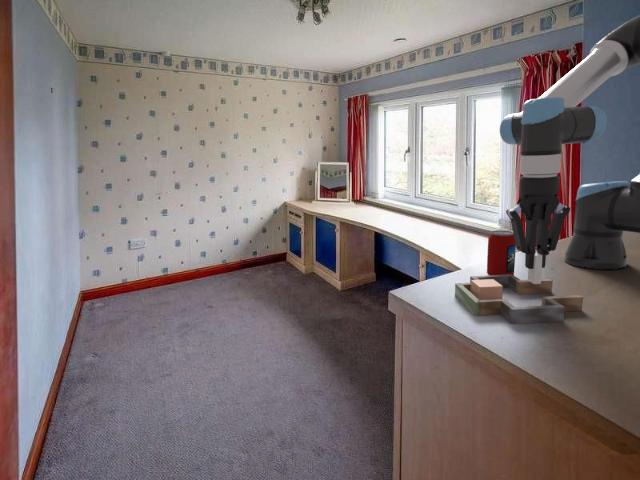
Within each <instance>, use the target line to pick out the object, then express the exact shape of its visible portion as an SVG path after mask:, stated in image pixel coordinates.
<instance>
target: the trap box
mask: <svg viewBox="0 0 640 480" xmlns="http://www.w3.org/2000/svg"><path fill="white" fill-rule="evenodd" d="M469 278H470V279H469V282H459V283H455V285H454V296H455V297H456V298H457V299H458V300H459V302H460V303H462V304H463V305H464V307H466V309H468V311H469V312H470V313H472V314H473V315H474V316H475V317H480V316H498V315H501V316H502V317H503V318H504V319H506V321H508V323H510V324H511V325H514V324H515V325H517V324H534V323H535V324H536V323H537V324H538V323H554V322H557V323H558V322H564V320H565V319H564V317H565V312H580V311H581V312H582V311H583V302H584V296H582V295H580V294H575V295H573V294H572V295H571V294H570V295H554V296H553V295H552V296H551V295H550V296H542V297H541V305H534V306H529V305H528V306H515V305H514V304H512V303H511V302H509V301H508V300H507V299H506V298H502V299H488V300H479V299H477V298H476V297H475V296H474V295H473V294H472V293H471V280H484V279H494V280H495V281H496V282H498V283H499V284H501V285H502V286H503V289H508V288H509V289H510V290H511V291H513V292H515V293H516V294H517V295H527V294H528V295H529V294H530V295H533V294H547V293H549V294H550V293H551V294H553V283H554V282H553V280H552V279H551V278H543V279H542V278H541V284H533V283H531V282H530V281H528V279H520V278H519V277H517V276H515V274H514V275H512V274H509V275H488V274H487V275H471V276H470V277H469Z"/></svg>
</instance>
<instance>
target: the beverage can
mask: <svg viewBox="0 0 640 480" xmlns="http://www.w3.org/2000/svg"><path fill="white" fill-rule="evenodd" d="M487 240H488V241H487V257H486V258H487V261H486V274H487V276H488V275H509V274H512V275H514V276H515V267H516V266H515V265H516V264H515V263H516V252H517V251H516V250H517V248H516V243H515V238H514V234H513V231H510V230H502V229H500V230H492V231H491V233H490V235H489V236H488V239H487Z"/></svg>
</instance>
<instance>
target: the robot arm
mask: <svg viewBox="0 0 640 480" xmlns="http://www.w3.org/2000/svg"><path fill="white" fill-rule="evenodd" d="M588 53H589V54H588V55H587V56H586V57H585V58H584V59H582V61H581V62H580V63H578V64H577V65H576V66H575V67H574V68H572V69H571V70H570V71H569V72H568V73H566V74H565V75H564V76H563V77H561V78H560V79H559V80H558V81H556V83H555V84H553V85H552V86H550V88H549V89H548V90H547V91H545V92H544V93H543V94H541V96H539V97H537V98H531V99H529V100H526V101H525V102H524V103H523V105H522V111H521V112H514V113H511V114H510V113H509V114H508V115H506V116H504V117H503V119H502V120H501V122H500V125H499V135H500V138H501V139H502V142H504V143H505V144H508V145H517V146H520V161H519V163H520V165H519V174H521V175H522V176H521V177H520V178H519V185H518V186H519V188H518V192H519V193H518V194H519V198H518V200H517V202H516V205H515V206H513V207H512V208H507V209H506V212H505V214H506V215H507V217H508V218H509V220H510V225H511V228H512V229H511V230H512V232H513V234H514V238H515V243H516V250H517V251H519V252H521V253H523V254H524V256H525V258H524V260H525V261H524V262H525V263H524V266H525V268H526V269H527V270H528V273H527V280H528V281H530V282H531V283H533V284H541V279H542V269H545V267H546V261H547V260H546V259H547V256H548V255H550V252H555V251H556V249H557V245H558V243H559V238H560V236H561V232H562V230H563V227H564V223H565V219H566V217H567V215H568V214H569V213H570V211H571V207H570V206H567V205H564V204H562V203H561V202H560V201H561V200H560V198H559V192H560V182H561V177H560V176H559V175H558V174H560V173H561V171H562V170H561V168H562V167H561V166H562V165H561V164H562V146H563V145H567V144H568V145H569V144H581V143H582V144H587V142H593V141H595V140H597V139H599V138H600V137H602V136H603V134H604V133H605V131H606V129H607V126H608V117H607V115H606V112H605V111H604V110H603V109H602V108H600V107H597V106H591V105H584V106H583V105H582V106H578V105H579V104H581V103H582V101H584V100H585V99H586V98H588V96H590V95H591V94H592V93H593V92H594V91H596V90H597V89H598V88H600V86H601V85H602V84H604V83H605V82H606V81H607V80H608V79H609V78H610V77H615V76H617V75H620V74H621V73H623V72H624V71H625V70H626V69H627V68H630V67H634V66H638V65H640V14H638V15H637V16H635V17H633V18H631V19H629V20H628V21H626V22H624V23H623V24H621V25H619V26H618V27H617V28H615V29H613V30H612V31H611V32H609V33H608V34H607V35H605V36H604V37H603V38H602V39H601V40H599V41H598V42H596V43H595V44H594V45H593V46H592V48H591V49H590V51H589V52H588ZM574 212H575V213H574V223H573V234H572V237H571V239H570V241H569V244H568V245H567V248H566V250H565V252H564V259H563V260H565V261H566V262H565V261H564V262H565V263H567V264H569V265H573V266H575V267H579V266H580V267H581V268H584V267H586V268H585V269H591V268H593V269H592V270H603V269H613V270H619V269H618V268H622V267H625V266H626V265H627V266H628V255H627V251H626V247H625V245H624V240H623V235H624V234H623V233H624V232H627V233H632V234H640V173H638V175H636V176H635V177H633V178H632V179H631V181H630V183H629V182H628V181H627V180H618V181H607V182H603V181H602V182H596V183H595V182H593V183H584V184H581V185H580V186H579V187H578V190H577V194H576V198H575V211H574ZM521 213H522V214H523V216H524V223H525V230H524V227H523V222H522V219H521V215H522V214H521ZM552 214H553V215H552ZM551 217H552V218H551ZM627 266H626V267H627ZM626 267H625V268H626ZM622 269H623V268H622Z"/></svg>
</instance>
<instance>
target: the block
mask: <svg viewBox="0 0 640 480" xmlns="http://www.w3.org/2000/svg"><path fill="white" fill-rule="evenodd" d="M503 291H504V288H503V286H502V285H501V284H499V283H498V282H496V281H495V280H494V279H484V280H471V293H472V294H473V295H474V296H475V297H476V298H477V299H479V300H488V299H503Z"/></svg>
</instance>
